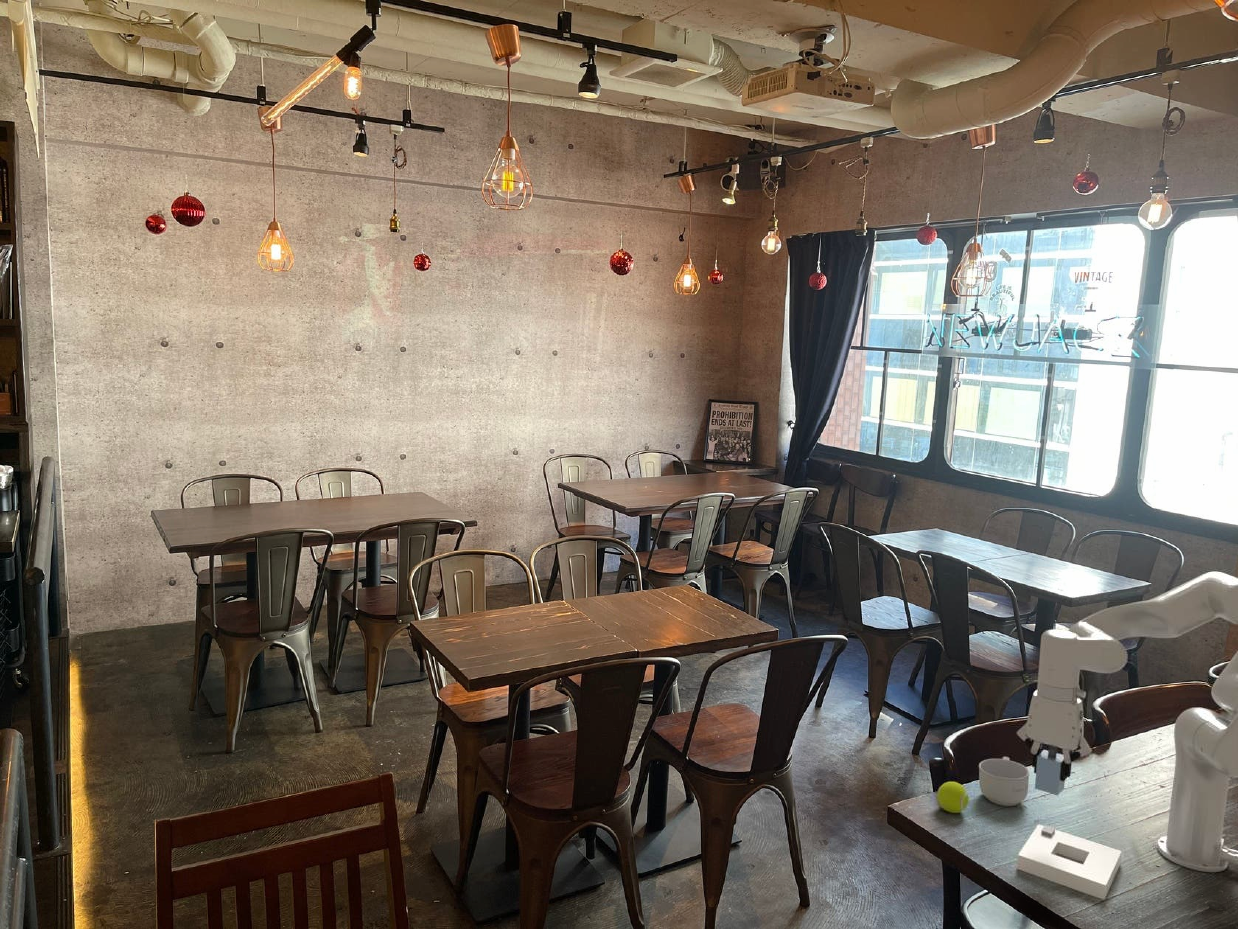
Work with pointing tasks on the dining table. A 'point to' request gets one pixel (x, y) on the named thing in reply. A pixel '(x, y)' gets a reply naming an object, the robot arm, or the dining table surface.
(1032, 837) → the socket
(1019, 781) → the teacup
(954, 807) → the tennis ball
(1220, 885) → the dining table surface
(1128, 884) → the dining table surface
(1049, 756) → the plug
